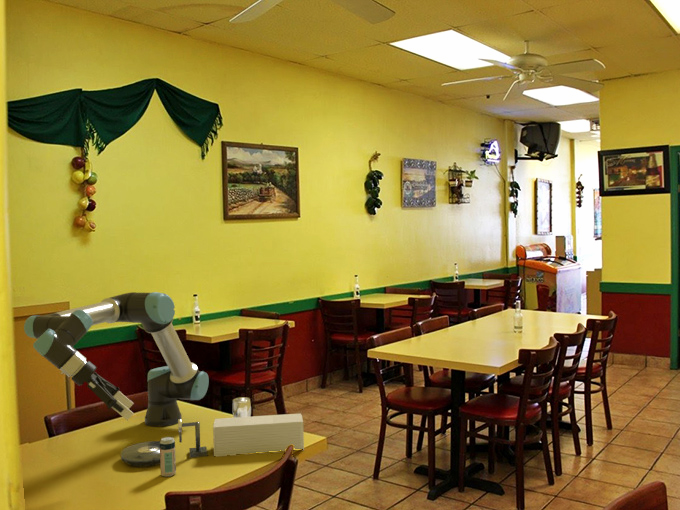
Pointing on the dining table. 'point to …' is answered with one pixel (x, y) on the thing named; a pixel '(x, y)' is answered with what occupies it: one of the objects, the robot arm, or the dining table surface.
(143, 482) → the dining table surface
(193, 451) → the dial indicator
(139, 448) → the turntable
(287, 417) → the white rectangular block
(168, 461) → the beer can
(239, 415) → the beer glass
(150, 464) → the turntable base
